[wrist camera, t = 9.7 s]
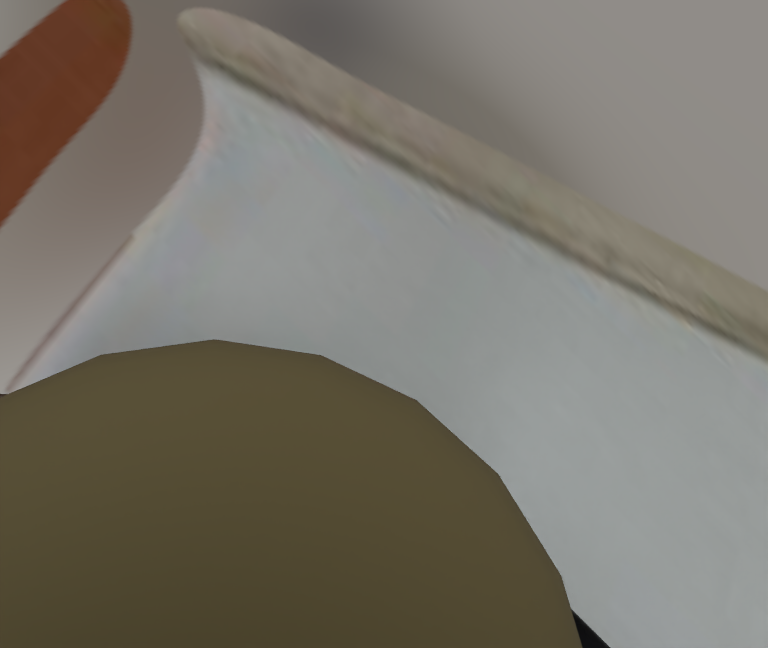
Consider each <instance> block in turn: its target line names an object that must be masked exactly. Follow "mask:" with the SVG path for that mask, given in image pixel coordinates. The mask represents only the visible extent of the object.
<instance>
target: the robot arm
mask: <svg viewBox="0 0 768 648" xmlns="http://www.w3.org/2000/svg"><path fill="white" fill-rule="evenodd" d="M571 611H572V614H573V618H574V621H575V624H576V628H577V631H578V634H579V638H580V641H581V645H582V648H610V647H609V646H608V645H607V644H606V643H605V642H604V641H603V640H602V639H601V638H600V637H599V636H598V635H597V634H596V633H595V632H594V631H593V630H592V629H591V628H590V627H589V626H588V625H587V624H586V623H585V622H584V621H583V620H582V619H581V618H580V617H579V616H578V615H577V614H576V613H575V612H574V611H573V610H572V609H571Z"/></svg>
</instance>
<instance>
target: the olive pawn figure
mask: <svg viewBox="0 0 768 648" xmlns="http://www.w3.org/2000/svg"><path fill="white" fill-rule="evenodd" d="M0 648H582V645H581V641H580V638H579V634H578V631H577V628H576V624H575V621H574V618H573V614H572V611H571V608H570V604H569V601H568V597H567V594H566V591H565V587H564V584H563V581H562V577H561V575H560V573H559V572H558V570H557V568H556V567H555V565H554V563H553V562H552V560H551V559H550V557H549V555H548V554H547V552H546V551H545V549H544V547H543V546H542V544H541V543H540V541H539V539H538V538H537V536H536V534H535V533H534V531H533V530H532V528H531V526H530V525H529V523H528V522H527V520H526V518H525V517H524V515H523V513H522V512H521V510H520V509H519V507H518V505H517V504H516V502H515V501H514V499H513V497H512V496H511V494H510V492H509V491H508V489H507V488H506V486H505V484H504V483H503V481H502V480H501V478H500V476H499V475H498V474H497V473H496V472H495V471H494V470H493V469H492V468H491V467H490V466H489V465H488V464H486V463H485V462H484V461H483V460H482V459H481V458H480V457H479V456H478V455H476V454H475V453H474V452H473V451H472V450H471V449H470V448H469V447H468V446H466V445H465V444H464V443H463V442H462V441H461V440H460V439H459V438H458V437H457V436H455V435H454V434H453V433H452V432H451V431H450V430H449V429H448V428H447V427H445V426H444V425H443V424H442V423H441V422H440V421H439V420H438V419H437V418H435V417H434V416H433V415H432V414H431V413H430V412H429V411H428V410H427V409H425V408H424V407H423V406H422V405H421V404H420V403H419V402H418V401H417V400H415V399H412V398H410V397H408V396H406V395H404V394H402V393H400V392H398V391H395V390H393V389H391V388H389V387H387V386H385V385H383V384H381V383H379V382H376V381H374V380H372V379H370V378H368V377H366V376H364V375H362V374H359V373H357V372H355V371H353V370H351V369H349V368H347V367H345V366H343V365H340V364H338V363H336V362H334V361H332V360H330V359H328V358H326V357H323V356H321V355H315V354H309V353H302V352H295V351H289V350H282V349H275V348H268V347H262V346H255V345H248V344H242V343H235V342H228V341H221V340H207V341H200V342H193V343H185V344H178V345H170V346H163V347H156V348H148V349H141V350H134V351H126V352H119V353H111V354H104V355H100V356H97V357H95V358H92V359H90V360H88V361H85V362H83V363H81V364H78V365H76V366H74V367H71V368H69V369H67V370H64V371H62V372H59V373H57V374H55V375H52V376H50V377H48V378H45V379H43V380H41V381H38V382H36V383H33V384H31V385H29V386H26V387H24V388H22V389H19V390H17V391H15V392H12V393H10V394H7V395H5V396H3V397H0Z"/></svg>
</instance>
